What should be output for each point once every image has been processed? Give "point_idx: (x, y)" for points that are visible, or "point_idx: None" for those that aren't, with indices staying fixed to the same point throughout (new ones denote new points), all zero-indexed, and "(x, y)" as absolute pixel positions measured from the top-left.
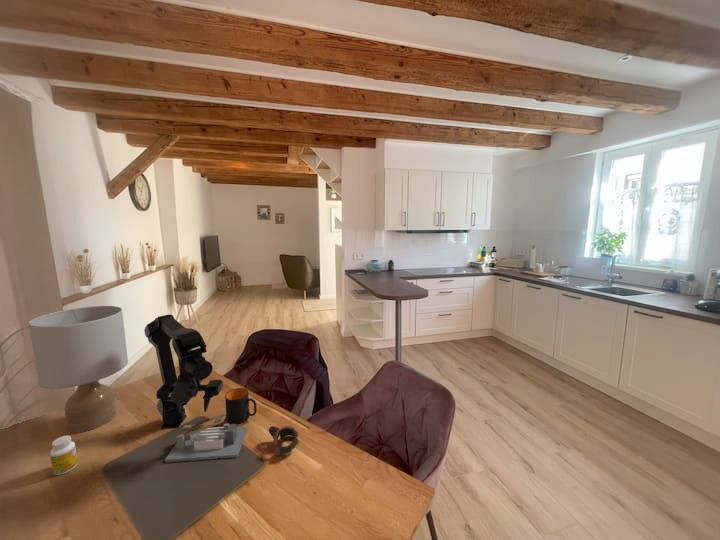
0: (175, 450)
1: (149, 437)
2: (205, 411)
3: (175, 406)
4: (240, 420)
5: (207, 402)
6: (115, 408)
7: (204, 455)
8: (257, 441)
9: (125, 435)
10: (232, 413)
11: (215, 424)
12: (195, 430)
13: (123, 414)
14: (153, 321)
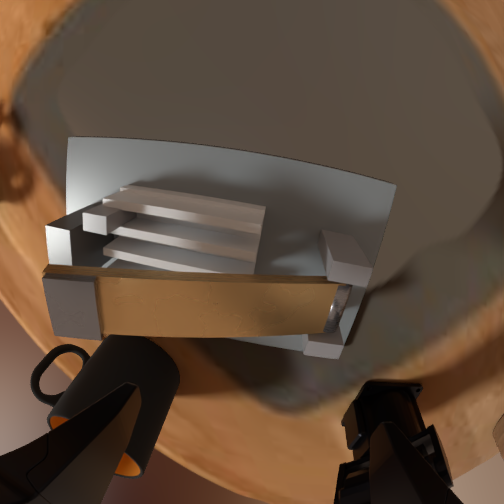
0: (362, 236)
1: (453, 348)
2: (124, 385)
3: (434, 488)
4: (109, 341)
5: (28, 446)
6: (501, 437)
7: (201, 155)
8: (35, 212)
9: (499, 363)
10: (118, 373)
11: (95, 270)
12: (250, 282)
13: (485, 426)
14: None
